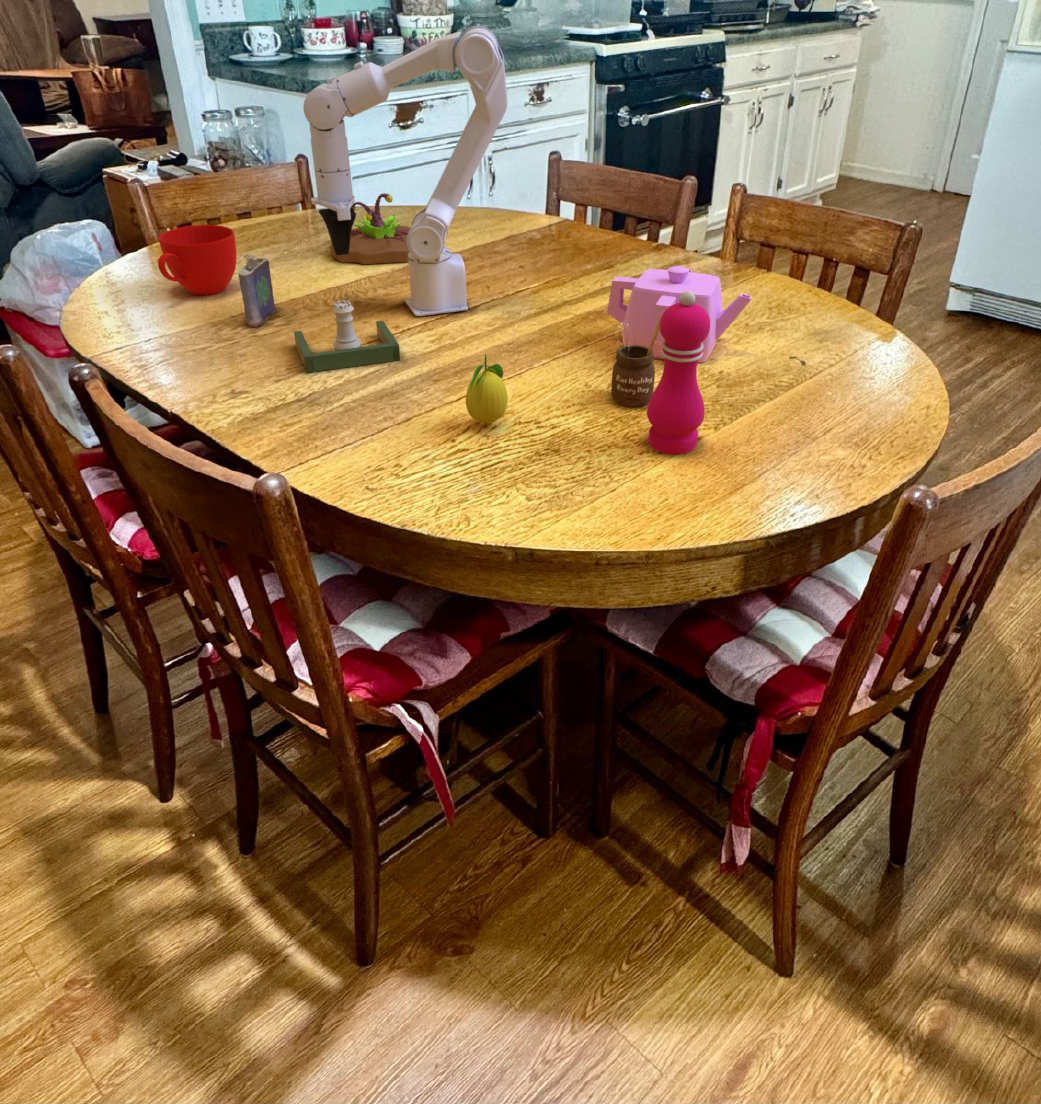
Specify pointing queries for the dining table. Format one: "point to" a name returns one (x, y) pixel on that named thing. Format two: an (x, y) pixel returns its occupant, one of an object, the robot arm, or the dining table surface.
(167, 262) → the ceramic cup
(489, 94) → the robot arm
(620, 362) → the utensil holder
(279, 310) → the dining table surface
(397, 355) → the bay
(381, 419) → the dining table surface
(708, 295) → the teakettle
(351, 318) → the rook chess piece
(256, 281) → the flask
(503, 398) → the lemon
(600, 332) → the dining table surface
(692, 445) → the pepper mill
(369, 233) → the plant
